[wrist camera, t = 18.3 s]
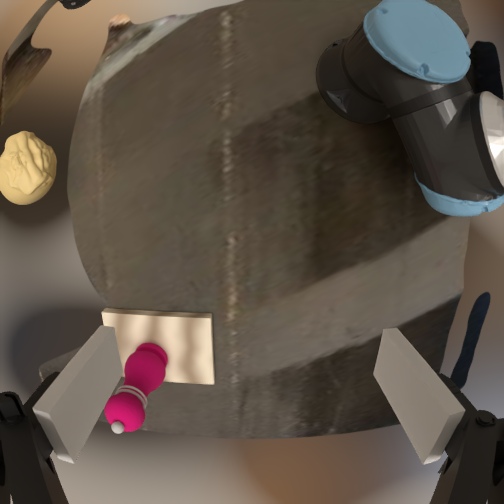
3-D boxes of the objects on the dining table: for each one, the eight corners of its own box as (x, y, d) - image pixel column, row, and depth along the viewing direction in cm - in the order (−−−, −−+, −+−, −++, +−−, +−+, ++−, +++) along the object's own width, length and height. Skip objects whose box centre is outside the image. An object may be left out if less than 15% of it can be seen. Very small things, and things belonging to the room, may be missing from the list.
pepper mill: (164, 338, 52) (128, 413, 33) (175, 371, 54) (149, 449, 35) (128, 341, 53) (83, 411, 33) (140, 373, 54) (105, 446, 35)
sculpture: (75, 176, 47) (40, 179, 37) (33, 212, 48) (-2, 221, 38) (52, 125, 45) (16, 119, 34) (13, 163, 46) (-23, 165, 35)
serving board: (211, 313, 53) (210, 318, 51) (214, 378, 57) (214, 384, 55) (105, 307, 53) (101, 312, 51) (117, 370, 56) (114, 375, 54)
